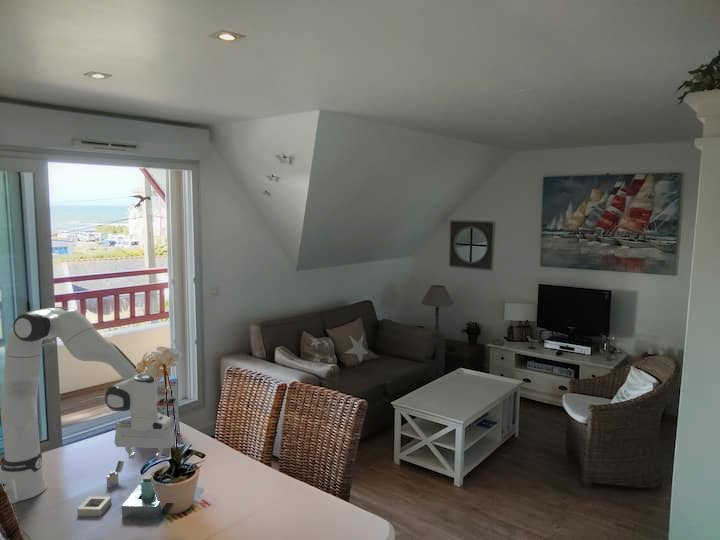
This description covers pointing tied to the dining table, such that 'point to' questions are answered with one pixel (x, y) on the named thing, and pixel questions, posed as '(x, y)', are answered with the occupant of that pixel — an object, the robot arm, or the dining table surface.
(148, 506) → the panel
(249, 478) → the dining table surface
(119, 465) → the lighter
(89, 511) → the cream square frame
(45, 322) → the robot arm
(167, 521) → the dining table surface
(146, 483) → the plug
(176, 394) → the game box
